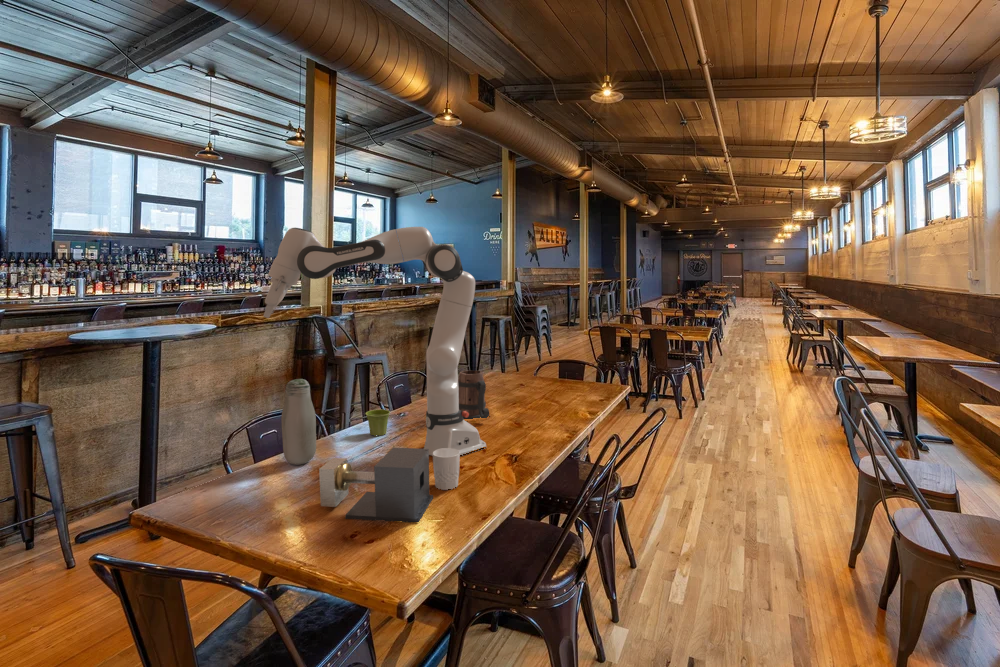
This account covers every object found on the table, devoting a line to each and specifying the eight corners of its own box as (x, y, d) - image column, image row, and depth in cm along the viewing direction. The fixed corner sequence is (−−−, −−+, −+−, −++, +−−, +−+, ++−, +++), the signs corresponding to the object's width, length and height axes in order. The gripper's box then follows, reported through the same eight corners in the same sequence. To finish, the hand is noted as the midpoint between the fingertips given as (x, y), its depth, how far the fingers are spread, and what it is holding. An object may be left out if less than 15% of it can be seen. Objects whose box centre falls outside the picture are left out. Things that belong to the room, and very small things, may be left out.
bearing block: (345, 518, 124) (343, 465, 123) (366, 495, 138) (365, 446, 136) (418, 522, 122) (417, 468, 120) (433, 498, 136) (432, 449, 134)
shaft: (320, 506, 128) (319, 468, 127) (334, 493, 136) (333, 457, 135) (402, 510, 125) (401, 472, 124) (412, 496, 133) (411, 461, 132)
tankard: (446, 414, 222) (445, 370, 220) (479, 409, 230) (479, 367, 228) (468, 427, 202) (468, 379, 200) (504, 421, 210) (504, 375, 208)
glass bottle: (298, 470, 156) (294, 383, 153) (277, 464, 161) (273, 380, 158) (323, 460, 165) (320, 378, 162) (302, 455, 170) (299, 375, 167)
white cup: (433, 480, 148) (433, 448, 147) (460, 479, 148) (459, 447, 147) (432, 491, 140) (431, 457, 139) (460, 490, 141) (459, 456, 140)
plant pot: (394, 431, 197) (394, 410, 196) (384, 438, 188) (383, 416, 187) (373, 429, 199) (372, 408, 198) (361, 436, 190) (360, 414, 189)
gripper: (291, 281, 149) (274, 323, 150) (296, 277, 168) (280, 314, 169) (270, 273, 147) (253, 315, 147) (277, 270, 166) (261, 308, 166)
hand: (268, 315), depth 158 cm, fingers open, 8 cm apart
